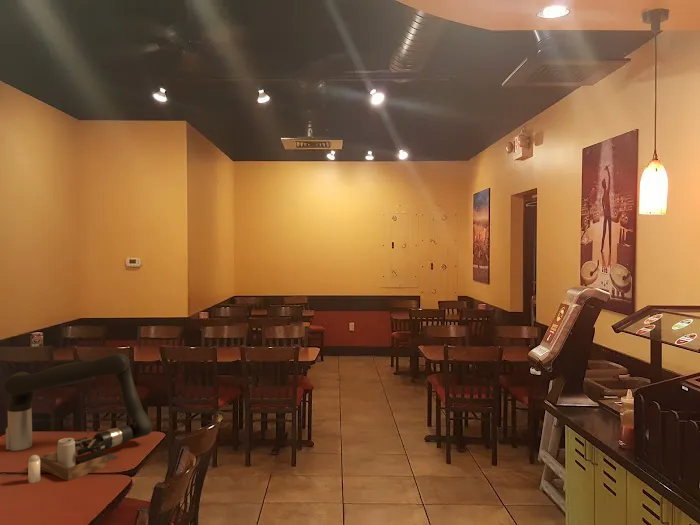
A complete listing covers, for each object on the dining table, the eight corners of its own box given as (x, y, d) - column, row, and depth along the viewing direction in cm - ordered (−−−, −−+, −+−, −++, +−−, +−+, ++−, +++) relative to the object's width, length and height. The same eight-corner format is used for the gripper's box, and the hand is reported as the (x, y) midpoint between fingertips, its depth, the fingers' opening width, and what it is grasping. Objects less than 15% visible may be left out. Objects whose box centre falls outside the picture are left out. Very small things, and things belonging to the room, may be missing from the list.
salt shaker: (26, 483, 210) (26, 457, 209) (31, 478, 214) (30, 453, 213) (37, 482, 210) (37, 456, 210) (42, 478, 214) (41, 452, 214)
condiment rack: (75, 455, 238) (75, 445, 238) (107, 466, 225) (106, 455, 225) (37, 467, 224) (37, 456, 224) (68, 480, 212) (68, 469, 212)
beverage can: (68, 473, 219) (67, 443, 219) (53, 471, 220) (53, 441, 220) (79, 466, 225) (78, 437, 225) (65, 465, 227) (64, 436, 226)
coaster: (101, 451, 242) (101, 450, 242) (118, 457, 235) (118, 456, 235) (75, 460, 232) (75, 459, 232) (91, 466, 225) (91, 465, 225)
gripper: (98, 427, 242) (61, 437, 228) (118, 433, 234) (81, 444, 221) (98, 444, 242) (62, 455, 229) (118, 451, 234) (81, 463, 221)
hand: (71, 450), depth 225 cm, fingers open, 8 cm apart
